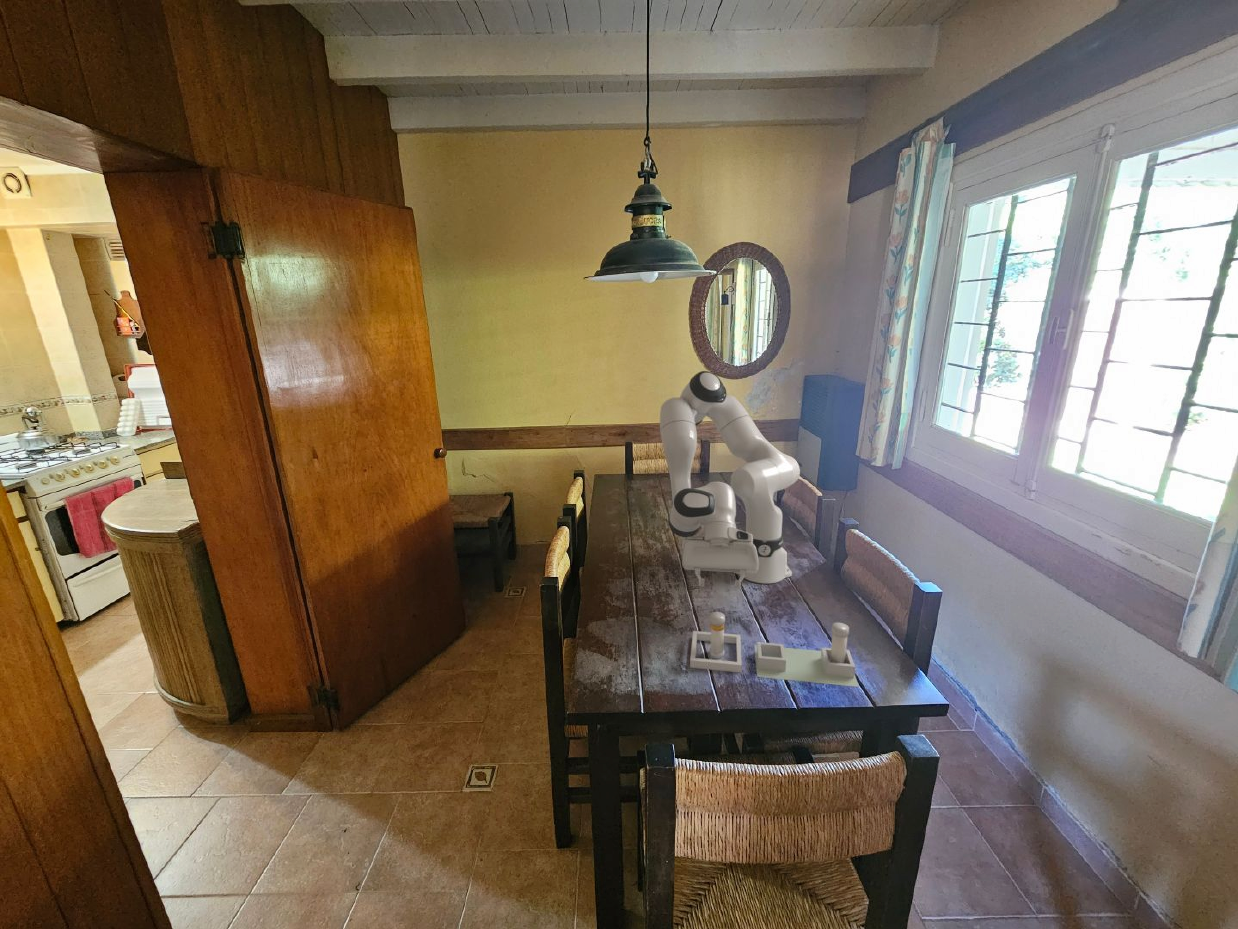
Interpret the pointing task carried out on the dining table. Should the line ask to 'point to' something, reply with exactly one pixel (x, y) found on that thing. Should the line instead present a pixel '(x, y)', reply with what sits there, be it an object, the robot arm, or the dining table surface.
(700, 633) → the parts tray
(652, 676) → the dining table surface
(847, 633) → the peg
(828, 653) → the fuse board
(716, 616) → the orange-banded cylinder plug
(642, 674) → the dining table surface
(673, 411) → the robot arm
